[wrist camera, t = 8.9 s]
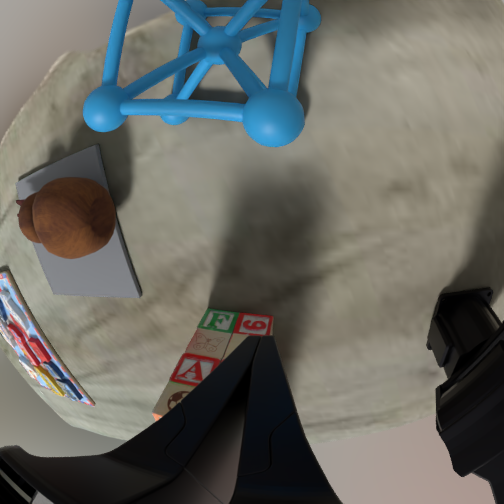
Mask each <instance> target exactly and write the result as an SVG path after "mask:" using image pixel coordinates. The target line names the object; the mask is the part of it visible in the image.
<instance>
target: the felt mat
mask: <svg viewBox="0 0 504 504" xmlns="http://www.w3.org/2000/svg"><path fill="white" fill-rule="evenodd" d="M64 177H81V178H88V179H91V180H94V181H96V182H97V183H99V184H100V185H101V186H103V187H104V188H105V189H107V191H108V193H109V189H108V185H107V180H106V176H105V172H104V167H103V163H102V158H101V153H100V148H99V144H96V145H93V146H91V147H88V148H86V149H83V150H81V151H79V152H76V153H74V154H72V155H70V156H68V157H65V158H63V159H61V160H59V161H57V162H55V163H53V164H51V165H49V166H47V167H45V168H43V169H41V170H39V171H37V172H35V173H33V174H31V175H29V176H27V177H26V178H24V179H22V180H20V181H18V182H17V183H15V184H16V188H17V192H18V196H19V200H23V199H26V198H27V197H28V196H29V195H31V194H33V193H35V192H39V190H40V189H41V188H42V187H43V186H44V185H45V184H46V183H48V182H50V181H52V180H55V179H57V178H64ZM109 194H110V193H109ZM33 245H34V248H35V251H36V253H37V256H38V259H39V261H40V264H41V266H42V269H43V271H44V274H45V276H46V278H47V281H48V283H49V285H50V287H51V290H52V292H53V294H56V295H73V296H94V297H122V298H140V297H141V296H142V293H141V291H140V288H139V285H138V283H137V280H136V277H135V274H134V272H133V269H132V266H131V263H130V260H129V257H128V254H127V251H126V248H125V245H124V242H123V238H122V235H121V232H120V229H119V225H118V222H117V218H116V225H115V229H114V233H113V236H112V237H111V239H110V241H109V242H108V244H107V245H105V246H104V247H103V248H101V249H100V250H98V251H96V252H95V253H92V254H89V255H86V256H83V257H81V258H76V259H65V258H62V257H58V256H56V255H54V254H52V253H49V252H48V251H47V250H46V248H45V247H44V246H43V244H42V243H35V242H33Z"/></svg>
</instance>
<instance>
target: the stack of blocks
mask: <svg viewBox="0 0 504 504" xmlns="http://www.w3.org/2000/svg"><path fill="white" fill-rule="evenodd" d="M273 321H274V317H273V316H268V315H259V314H250V313H238V312H230V311H223V310H216V309H209V308H208V309H207V310H206V312H205V314H204V316H203V317H202V319H201V321H200V323H199V325H198V326H197V330H196V332H195V334H194V336H193V337H192V339H191V341H190V343H189V345H188V347H187V349H186V351H185V353H183V354H182V356H181V358H180V360H179V362H178V364H177V365H176V367H175V369H174V371H173V373H172V375H171V377H170V379H169V382H168V384H167V386H166V387H165V389H164V391H163V393H162V394H161V396H160V398H159V400H158V402H157V404H156V406H155V407H154V409H153V411H152V414H153V416H154V418H155V420H156V421H157V420H159V419H160V418H161V417H162V416H164V415H165V414H166V413H167V412H168V411H169V410H171V409H172V408H173V407H174V406H175V405H176V404H177V403H178V402H180V403H181V400H182V399H183V398H184V397H185V396H186V395H187V394H188V393H189V392H191V391H192V390H193V389H194V388H195V387H196V386H197V385H198V384H199V383H200V382H201V381H202V380H203V379H204V378H205V377H207V376H208V375H209V374H210V373H211V372H212V371H213V370H214V369H215V368H216V367H217V366H218V365H219V364H220V363H221V362H222V361H223V360H224V359H225V358H226V357H227V356H228V355H229V354H230V353H231V352H232V351H233V350H234V349H235V348H236V347H237V346H238V345H239V344H240V343H241V342H242V341H243V340H244V339H245V338H246V337H247V336H249V335H260V336H261V337H262V336H263V335H272V334H273Z"/></svg>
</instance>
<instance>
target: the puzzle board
mask: <svg viewBox="0 0 504 504" xmlns="http://www.w3.org/2000/svg"><path fill="white" fill-rule="evenodd" d="M0 334H1V336H2V337H3V339H5V340H6V341H7V342H8V343H9V344H10V345H11V346H12V347H13V349H14V350H15V352H16V353H17V355H18V356H19V362H20V363H21V365H22V366H23V367H24V369H25V370H26V371H27V373H28V374H29V375H30V376H31V377H32V378H33V379H34V378H35V379H36V380H37V381H38V382H39V384H40V385H41V386H43V387H45V388H47V389H49V390H52V391H53V392H54V393H55V394H57V395H60V396H66V397H68V398H70V399H71V400H72V401H79V402H82V403H85V404H88V405H90V406H93V407H94V406H95V402H94V401H93V400H92V399H91V398H90V397H89V395H88V394H87V393H86V392H85V391H84V389H83V388H82V387H81V386H80V384H79V383H78V382H77V381H76V379H75V378H74V377H73V375H72V374H71V373H70V371H69V370H68V369H67V367H66V366H65V365H64V363H63V362H62V360H61V359H60V358H59V356H58V355H57V353H56V352H55V350H54V349H53V347H52V346H51V344H50V343H49V341H48V340H47V338H46V337H45V335H44V334H43V332H42V330H41V329H40V327H39V325H38V324H37V322H36V320H35V319H34V317H33V315H32V313H31V312H30V310H29V308H28V306H27V304H26V303H25V301H24V299H23V297H22V295H21V293H20V291H19V289H18V287H17V285H16V283H15V281H14V279H13V277H12V275H11V273H10V271H9V270H6V271H2V272H0Z"/></svg>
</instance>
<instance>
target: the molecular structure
mask: <svg viewBox="0 0 504 504" xmlns="http://www.w3.org/2000/svg"><path fill="white" fill-rule="evenodd" d="M161 1H162V2H163V3H164V4H165V5H167V6H168V7H169V8H170V9H171V10H172V11H174V12H175V16H176V20H177V21H178V22H179V23H180V24H182V25H184V27H183V32H182V37H181V42H180V47H179V53H178V58H176V59H174V60H172V61H170V62H168V63H166V64H164V65H162V66H160V67H159V68H157V69H155V70H153V71H151V72H150V73H148V74H146V75H144V76H143V77H141V78H139V79H138V80H136V81H134V82H133V83H131V84H130V85H128V86H126V87H125V88H123V89H122V88H121V87H119V86H116V85H117V77H118V71H119V64H120V58H121V53H122V47H123V42H124V37H125V32H126V27H127V23H128V19H129V15H130V11H131V7H132V4H133V0H119V2H118V5H117V9H116V12H115V16H114V20H113V24H112V29H111V33H110V38H109V43H108V48H107V53H106V59H105V65H104V72H103V79H102V86H101V87H98V88H97V89H95V90H94V91H92V92H91V93H90V95H89V96H88V97H87V99H86V101H85V103H84V107H83V117H84V120H85V122H86V123H87V125H88V126H89V127H90V128H92V129H93V130H96V131H98V132H108V131H112V130H114V129H116V128H118V127H119V126H120V125H121V124H122V123H123V122H124V121H125V120H126V118H127V116H128V115H160V117H161V118H162V120H163V121H164V122H165V123H168V124H170V125H178V124H181V123H183V122H185V121H186V120H187V119H188V118H189V117H198V118H210V119H220V120H229V121H238V122H243V125H244V129H245V130H246V132H247V134H248V135H249V136H250V137H251V138H252V139H253V140H255V141H256V142H257V143H259V144H261V145H264V146H268V147H280V146H284V145H287V144H289V143H291V142H292V141H294V140H295V139H296V138H297V137H298V136H299V134H300V133H301V132H302V130H303V128H304V125H305V122H304V111H303V107H302V105H301V104H300V102H299V101H298V99H297V98H296V96H297V90H298V84H299V78H300V71H301V65H302V59H303V53H304V46H305V40H306V33H308V32H311V31H314V30H315V29H317V28H318V26H319V25H320V23H321V15H320V13H319V11H318V10H317V9H316V8H315V7H314V6H313V5H310V4H309V0H283V2H282V8H281V10H276V9H263V8H261V7H262V6H263V5H264V4H265V3H266V2H267V1H268V0H247V1H246V3H245V4H244V5H243V6H242V7H213V8H207V6H206V4H205V3H204V2H202V1H200V0H186V1H185V0H161ZM207 16H234V17H233V18H232V19H231V20H230V22H229V23H228V24H227V25H226V27H225V26H216V27H212V26H211V25H210V24H209V23H208V22H207V21H206V20H205V19H206V18H207ZM252 17H261V18H273V19H276V20H272V21H269V22H266V23H262V24H259V25H256V26H253V27H250V28H247V29H244V30H241V29H242V28H243V27H244V25H245V24H246V23H247V22H248V21H249V20H250V19H251V18H252ZM193 29H194V30H195V31H196V32H197V33H198V34H199V35H200V38H199V41H198V45H197V49H194V50H192V51H190V52H189V50H190V44H191V39H192V34H193ZM240 30H241V31H240ZM276 30H278V32H277V38H276V44H275V50H274V56H273V62H272V68H271V74H270V80H269V86H268V89H267V88H266V86H265V85H264V84H263V83H262V82H261V80H260V79H259V78H258V77H257V76H256V75H255V73H254V72H253V71H252V70H251V69H250V68H249V67H248V66H247V64H246V63H245V62H244V61H243V60H242V59H241V58H240V57H239V56H238V54H239V53H240V50H241V48H242V42H245V41H247V40H250V39H253V38H255V37H258V36H261V35H264V34H267V33H270V32H273V31H276ZM199 61H200V62H199ZM196 62H199V63H198V65H197V66H196V68H195V69H194V71H193V72H192V74H191V75H190V77H189V78H188V80H187V82H186V83H185V85H184V80H185V74H186V68H187V67H188V66H190V65H192V64H194V63H196ZM213 64H218V65H221V64H225V65H226V66H227V67H228V69H229V70H230V71H231V73H232V74H233V76H234V77H235V78H236V80H237V81H238V83H239V84H240V85H241V87H242V88H243V90H244V91H245V93H246V94H247V96H248V97H249V99H248V101H247V102H246V104H239V103H230V102H219V101H205V100H189V99H188V98H189V97H190V95H191V94H192V92H193V91H194V90H195V88H196V87H197V85H198V84H199V82H200V81H201V80H202V78H203V77H204V75H205V74H206V73H207V71H208V70H209V69H210V67H211V66H212V65H213ZM173 74H175V77H174V84H173V91H172V94H171V95H168V96H167V97H165V98H164V99H133V98H135V97H136V96H138V95H139V94H141V93H142V92H144V91H146V90H147V89H149V88H151V87H152V86H154V85H156V84H157V83H159V82H161V81H163V80H164V79H166V78H168V77H170V76H171V75H173Z"/></svg>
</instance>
